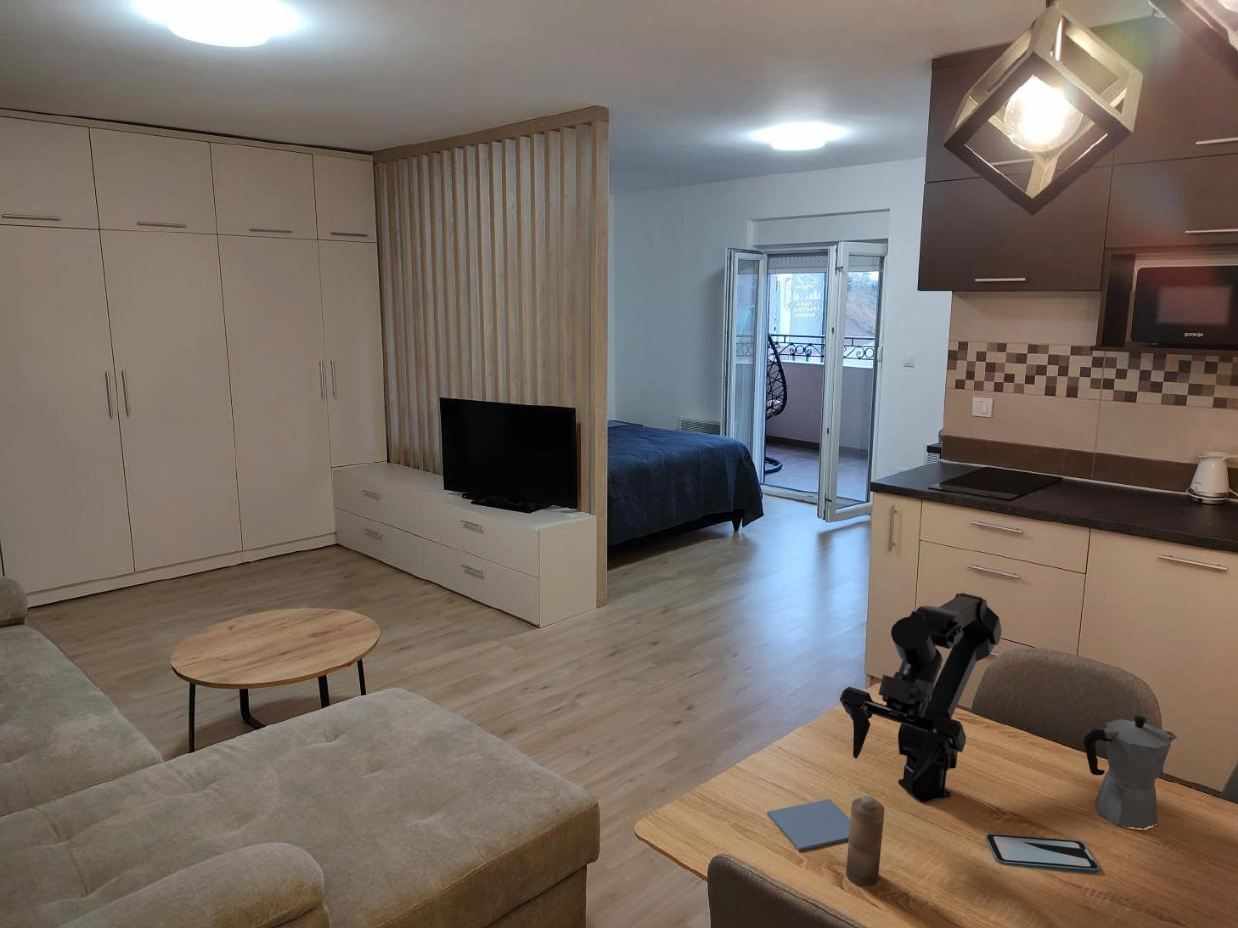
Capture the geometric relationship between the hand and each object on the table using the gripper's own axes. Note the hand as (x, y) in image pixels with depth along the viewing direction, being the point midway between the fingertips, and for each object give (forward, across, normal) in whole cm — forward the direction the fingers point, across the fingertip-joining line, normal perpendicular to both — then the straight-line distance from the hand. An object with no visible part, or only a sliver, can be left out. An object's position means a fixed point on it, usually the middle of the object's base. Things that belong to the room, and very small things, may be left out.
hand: (883, 767), depth 130 cm
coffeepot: (-16, +28, +35) cm, 48 cm away
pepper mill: (+15, +1, +5) cm, 16 cm away
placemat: (+10, -10, +10) cm, 17 cm away
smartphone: (-2, +20, +22) cm, 30 cm away
